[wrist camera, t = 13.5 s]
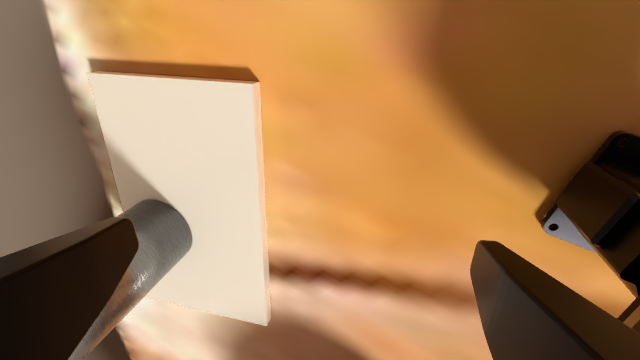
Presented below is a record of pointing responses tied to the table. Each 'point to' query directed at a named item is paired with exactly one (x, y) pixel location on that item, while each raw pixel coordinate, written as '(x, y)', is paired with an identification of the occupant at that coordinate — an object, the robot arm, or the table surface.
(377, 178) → the table surface
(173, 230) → the tin
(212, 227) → the tile
